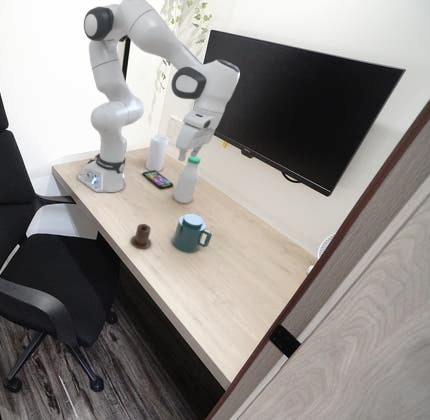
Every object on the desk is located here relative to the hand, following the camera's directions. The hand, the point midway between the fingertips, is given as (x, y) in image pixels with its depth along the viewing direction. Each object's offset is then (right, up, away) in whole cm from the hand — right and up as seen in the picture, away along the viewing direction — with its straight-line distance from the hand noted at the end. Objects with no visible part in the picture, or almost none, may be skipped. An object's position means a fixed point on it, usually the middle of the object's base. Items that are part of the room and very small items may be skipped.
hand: (187, 158), depth 108 cm
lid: (-13, -29, +10) cm, 34 cm away
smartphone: (+5, -3, +47) cm, 47 cm away
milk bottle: (+12, -13, +34) cm, 38 cm away
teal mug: (+4, -30, +9) cm, 32 cm away
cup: (+6, +4, +57) cm, 58 cm away
